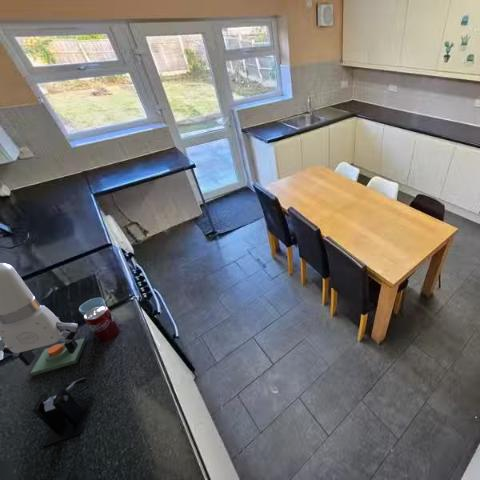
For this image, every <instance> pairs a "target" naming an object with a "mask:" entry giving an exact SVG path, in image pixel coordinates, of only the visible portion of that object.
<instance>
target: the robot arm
mask: <svg viewBox="0 0 480 480" xmlns="http://www.w3.org/2000/svg"><path fill="white" fill-rule="evenodd" d="M78 328H79V324H78V323H75V322H62V321H60V319H59V318H58V316H57V315H55V313H54V312H52V311H51V310H50V309H49V308H48V307H46V306H45V305H44V304H40V302H39V301H38V299H37V298H36V297H35V295H34V294H33V293H32V291H31V290H30V289H29V287H28V285H27V284H26V283H25V281H24V280H23V279H22V277H21V276H20V274H19V273H18V272H17V270H16V269H15V267H13V266H12V265H11V264H9V263H5V262H0V351H2V353H4V354H9V355H12V357H18V358H19V359H20V361H21V362H22V363H23V364H24V365H25V366H26V367H28V366H31V364H32V363H33V362H34V360H35V358H36V355H35V353H34V352H33V351H32V350H35V349H39V348H44V347H47V346H50V345H51V346H52V345H55V344H58V342H61V343H65V344H64V346H65V347H66V349H67V350H68V351H69V353H70V354H73V353H74V352H75V350H76V348H77V346H78V344H77V342H76V339H75V336H76V334H77V333H78Z"/></svg>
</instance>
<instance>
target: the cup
mask: <svg viewBox="0 0 480 480" xmlns="http://www.w3.org/2000/svg"><path fill="white" fill-rule="evenodd" d="M98 306H106V307H107V304H106V302H105V299H104V298H103V297H94V298H90V299H89V300H86V301H84V302H83V303H82V304H81V305H80V306H79V307H78V311H79V312H80V313H81V314H82V316H83V317H84V316H85V314H86V313H87V312H88V311H89V310H91V309H93V308H95V307H98Z"/></svg>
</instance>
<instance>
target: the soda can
mask: <svg viewBox="0 0 480 480" xmlns="http://www.w3.org/2000/svg"><path fill="white" fill-rule="evenodd" d="M83 321H84V322H85V324H86V325H87V327H88V329H90V332H91V333H92V334H93V335H94V337H95V338H96V340H97V341H98V343H99V342H100V343H106V342H108V341H111V340H113V339H114V338H116V337H117V336H118V335H119V334H121V331H122V329H121V328H120V326H119V324H118V322H117V321H116V319H115V317H114V315H113V314H112V312H111V310H110V308H109V307H108V306H107V305H106V306H98V307H95V308H93V309H91V310H89V311H88V312H87V313H86V314H85V316H84V315H83Z"/></svg>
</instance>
